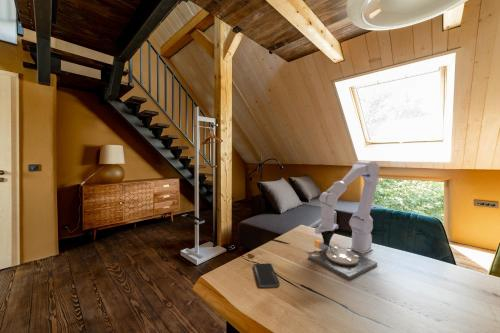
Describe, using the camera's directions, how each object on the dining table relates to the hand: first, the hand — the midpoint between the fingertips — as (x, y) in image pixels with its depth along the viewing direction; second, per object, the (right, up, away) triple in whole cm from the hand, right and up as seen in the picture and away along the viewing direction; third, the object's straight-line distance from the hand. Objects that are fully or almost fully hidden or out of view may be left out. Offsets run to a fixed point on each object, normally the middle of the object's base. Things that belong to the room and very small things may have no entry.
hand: (326, 245), depth 102 cm
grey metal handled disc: (+2, -2, -5) cm, 6 cm away
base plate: (+4, -4, -8) cm, 10 cm away
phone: (-30, -5, -19) cm, 36 cm away
